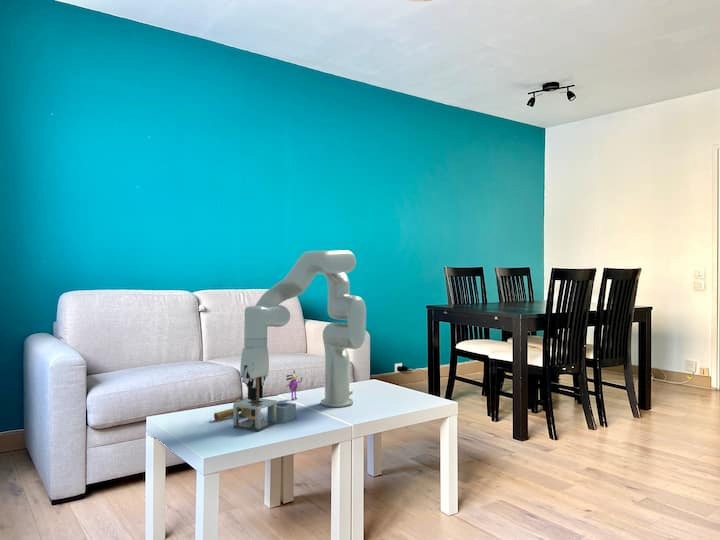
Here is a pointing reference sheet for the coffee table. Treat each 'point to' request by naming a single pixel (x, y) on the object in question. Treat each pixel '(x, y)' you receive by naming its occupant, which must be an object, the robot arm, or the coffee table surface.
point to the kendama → (231, 413)
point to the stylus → (257, 397)
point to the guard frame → (259, 423)
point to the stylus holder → (283, 412)
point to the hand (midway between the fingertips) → (255, 398)
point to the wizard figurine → (293, 383)
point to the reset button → (252, 418)
